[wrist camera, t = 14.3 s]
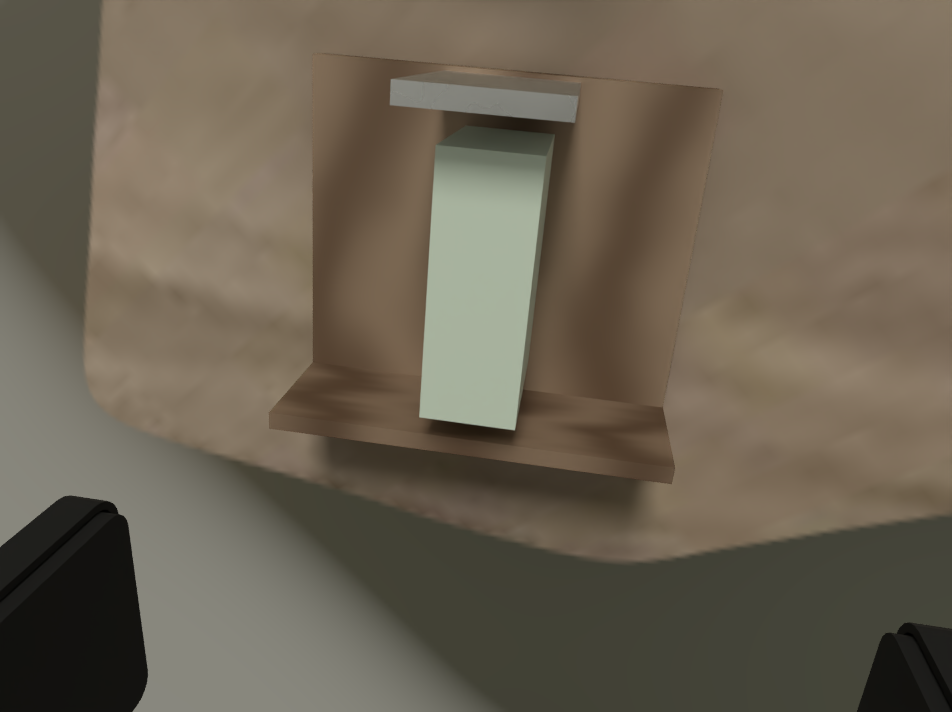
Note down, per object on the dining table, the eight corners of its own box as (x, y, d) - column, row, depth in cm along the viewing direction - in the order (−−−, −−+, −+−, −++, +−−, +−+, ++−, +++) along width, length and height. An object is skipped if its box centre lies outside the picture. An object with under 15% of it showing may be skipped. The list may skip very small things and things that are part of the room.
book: (554, 134, 34) (546, 156, 27) (528, 361, 38) (515, 430, 32) (466, 125, 35) (435, 144, 28) (449, 351, 39) (419, 417, 32)
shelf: (717, 88, 34) (775, 107, 23) (656, 412, 40) (681, 543, 30) (323, 53, 36) (211, 56, 25) (322, 368, 42) (231, 477, 31)
